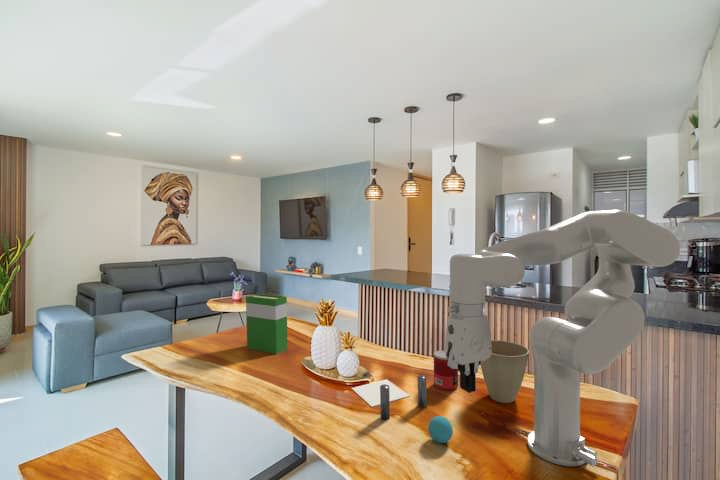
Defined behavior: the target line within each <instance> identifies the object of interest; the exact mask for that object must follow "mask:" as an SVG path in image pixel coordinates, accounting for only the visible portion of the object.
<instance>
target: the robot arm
mask: <svg viewBox="0 0 720 480" xmlns="http://www.w3.org/2000/svg"><path fill="white" fill-rule="evenodd" d="M594 248H597V255H598V269H597V272H596V273H595V274H594V276H593V277H591V279H590V280H589V281H587V282H586V283H585V284H584V285H583V286H582V287H581V288H580V289H579V290H578V291H577V292H575V293H574V294H573V295H572V296H571V297H570V298H569V299H568V300H567V302H566V304H565V306H564V315H565V317H566V318H567V320H566V319H562V318H559V317H554V316H544V317H540V318H539V319H537V320H536V321H534V322H533V324H532V326H531V329H530V330H529V344H530V348H531V352H532V353H531V354H532V357H533V358H532V359H533V370H534V371H533V373H534V377H533V378H534V382H533V384H534V385H533V387H534V390H533V394H534V397H533V399H534V400H533V401H534V402H533V403H534V404H533V405H534V409H533V410H534V414H533V416H534V417H533V418H534V420H533V421H534V422H533V423H534V424H533V425H534V428H533V431H532V432H529V434H528V436H527V445H528V448H529V449H530V450H531V451H532V452H533V453H534V454H535V455H536V456H538V457H539V458H541V459H543V460H545V461H547V462H550V463H553V464H556V465H559V466H565V467H577V466H578V467H579V466H581V465H584V464H585V463H586V464H588V465H590V466H592V467H595V466H596V465H597V463H598V458H597V455H598V453H597V452H596V451H595V450H593V449H591V448H588V447H587V445H585V444H586V439H585V437H583V436H581V380H580V379H581V378H580V373H581V374H585V375H597V374H598V373H601V372H602V371H604V370H605V369H607V368H608V367H609V366H610V365H611V364H612V363H614V361H616V359H618V357H620V355H622V353H624V352H625V351H626V350H627V349H628V348H629V347H630V346H631V344H633V343H634V342H635V341H636V339H638V338H639V336H640V335H641V333H642V331H643V329H644V325H645V322H646V321H645V312H644V310H643V308H642V306H641V305H640V304H639V303H638V302H636V301H635V300H633V299H632V298H630V297H631V296H632V295H633V293H634V291H635V287H636V285H635V279H634V277H633V274H632V268H631V266H632V265H633V266H641V267H642V266H643V267H651V268H663V267H666V266H670V265H672V264H673V263H675V262H676V261H677V259H678V258H679V256H680V253H681V244H680V241H679V239H678V238H677V236H676V235H675V234H674V233H673V232H671V231H670V230H668V229H667V228H665V227H663V226H660V225H658V224H656V223H654V222H652V221H650V220H649V219H646V218H644V217H642V216H640V215H637V214H635V213H633V212H630V211H626V210H622V209H612V210H611V209H608V210H593V211H585V212H581V213H580V214H576V215H574V216H572V217H569V218H567V219H564V220H562V221H560V222H557V223H555V224H553V225H550V226H548V227H545V228H543V229H540V230H537V231H534V232H531V233H527V234H523V235H521V236H520V235H519V236H518V237H517V236H516V237H513V238H510V239H506V240H503V241H500V242H497V243H495V244H492V245H490V246H487V247H485V248H482V249H480V250H478V251H477V252H476V253H459V254H453V255H452V256H451V257H450V259H449V306H448V307H447V312H448V313H449V315H448V316H447V321H446V322H447V323H446V328H445V329H446V330H445V342H444V343H445V345H444V347H445V348H444V349H445V351H446V357H447V358H448V367H450V368H452V369H457V370H458V373H459V387H460V389H461V390H464V391H465V392H466V393H469V394H470V393H472V392H476V389H477V388H476V386H477V383H476V382H477V381H476V376H477V375H476V374H477V373H478V372H479V366H481V364H480V363H481V362H483V361H485V360H486V359H488V358H489V357H490V356H491V340H492V335H491V327H490V326H491V325H490V321H489V317H488V314H486V287H487V286H488V287H496V288H511V287H514V286H517V284H519V283H521V282H522V280H523V279H524V276H525V274H526V273H525V272H526V271H525V269H526V268H525V267H530V266H531V267H533V266H549V265H555V264H560V263H561V262H564V261H566V260H568V259H571V258H572V257H575V256H577V255H580V254H582V253H584V252H586V251H589V250H592V249H594Z"/></svg>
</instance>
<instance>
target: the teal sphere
mask: <svg viewBox="0 0 720 480" xmlns="http://www.w3.org/2000/svg"><path fill="white" fill-rule="evenodd" d="M453 433H454V428H453V424H452V423H451V421H450V420H449V419H448V418H447V417H445V416H443V415H436V416H434V417H433V418H431V419H430V421H429V423H428V434H429V436H430V437H431V439H432V440H434V442H436V443H438V444H446V443H448V442H449V441H450V440H451V439H452V437H453Z"/></svg>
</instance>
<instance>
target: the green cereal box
mask: <svg viewBox="0 0 720 480" xmlns="http://www.w3.org/2000/svg"><path fill="white" fill-rule="evenodd" d="M287 297H288V296H285V295H276V294H275V295H273V294H265V293H256V295H254V296H253V295H252V296H249V295H246V296H245V311H246V312H245V314H246V315H245V316H246V317H245V318H246V319H245V320H246V348H247V349H248V348H249V350H254V351H259V352H264V353H269V354H274V355H278V354H280V353H282V352H284V351H287V350H288V348H289V344H288V341H289V340H288V310H287V309H288V307H287V306H288V300H287V299H288V298H287Z"/></svg>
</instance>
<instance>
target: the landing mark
mask: <svg viewBox="0 0 720 480" xmlns="http://www.w3.org/2000/svg"><path fill="white" fill-rule="evenodd" d="M384 384H385V385H389V399H390V403H391V402H395V401H397V400H398V401H399V400H400V399H401V400H402V399H404V398H408V397H411V395H410V394H408V393H407V392H406V391H404V390H403V389H402V388H400V387H399V386H397V385H396V384H394V383H393V382H391V381H390V380H388V379H382V380H378V381H374V382H371V383H370V382H369V383H366V384H362V385H359V386H355V387H354V386H353V387H351V390H352V391H353V392H355V394H357V395H358V396H359V397H360V398H361V399H362V400H363V401H364V402H365V403H366V404H368V405H369V406H370V407H371V408H373V407H377V406H380V386H381V385H384Z"/></svg>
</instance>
